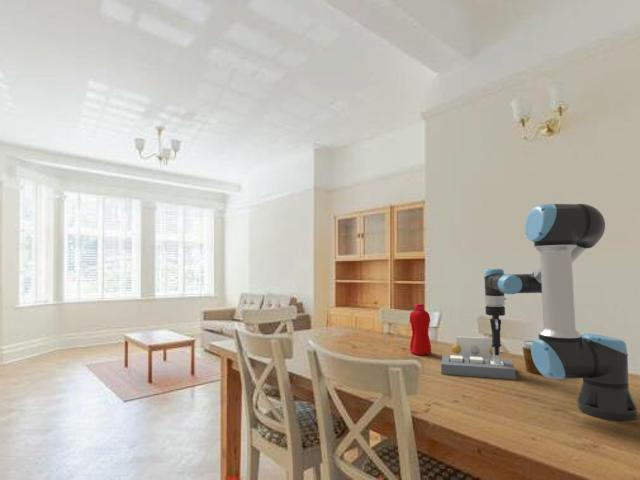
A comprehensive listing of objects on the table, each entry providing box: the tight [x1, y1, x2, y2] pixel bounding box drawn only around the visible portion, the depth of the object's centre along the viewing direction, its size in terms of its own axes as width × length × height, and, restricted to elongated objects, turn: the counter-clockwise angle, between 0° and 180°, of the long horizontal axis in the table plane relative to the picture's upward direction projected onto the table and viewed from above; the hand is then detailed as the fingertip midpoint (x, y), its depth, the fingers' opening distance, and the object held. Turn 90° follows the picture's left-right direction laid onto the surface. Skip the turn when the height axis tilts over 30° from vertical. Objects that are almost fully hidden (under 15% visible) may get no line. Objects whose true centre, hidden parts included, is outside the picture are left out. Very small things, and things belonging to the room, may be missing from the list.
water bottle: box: [408, 303, 432, 356], centre depth 204 cm, size 9×11×25 cm
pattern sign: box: [451, 336, 493, 358], centre depth 186 cm, size 6×20×12 cm, turn 71°
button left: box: [449, 354, 463, 363], centre depth 173 cm, size 5×5×3 cm
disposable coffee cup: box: [521, 340, 542, 375], centre depth 169 cm, size 10×10×12 cm
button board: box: [440, 354, 517, 381], centre depth 171 cm, size 16×28×4 cm, turn 71°
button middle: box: [470, 356, 483, 364], centre depth 171 cm, size 5×5×3 cm
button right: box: [490, 361, 504, 365], centre depth 168 cm, size 5×5×3 cm
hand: (496, 362), depth 168 cm, fingers closed
